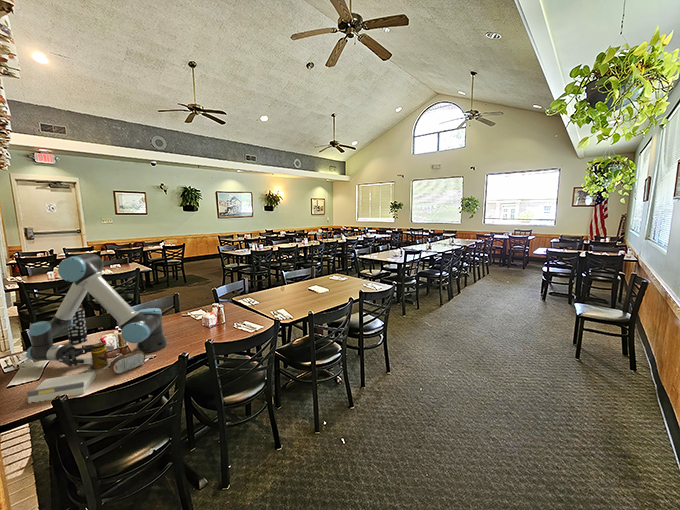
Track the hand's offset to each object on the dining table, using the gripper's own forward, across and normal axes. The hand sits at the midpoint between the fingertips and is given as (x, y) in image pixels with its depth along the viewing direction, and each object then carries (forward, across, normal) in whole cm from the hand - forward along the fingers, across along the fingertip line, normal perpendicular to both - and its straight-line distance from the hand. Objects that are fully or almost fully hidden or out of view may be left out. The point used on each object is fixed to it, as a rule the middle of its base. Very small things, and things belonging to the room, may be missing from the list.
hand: (103, 354), depth 148 cm
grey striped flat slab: (-2, +19, -7) cm, 21 cm away
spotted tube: (-39, -27, -7) cm, 48 cm away
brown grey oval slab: (+14, +2, -7) cm, 16 cm away
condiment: (-3, 0, -7) cm, 8 cm away
